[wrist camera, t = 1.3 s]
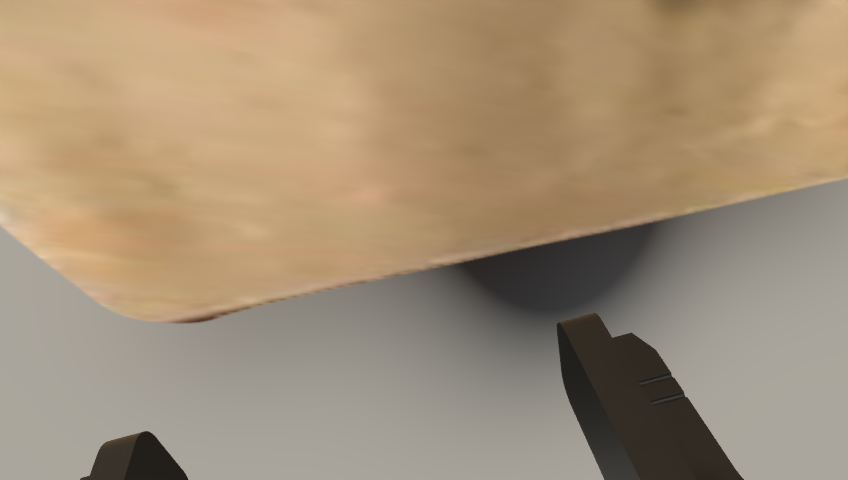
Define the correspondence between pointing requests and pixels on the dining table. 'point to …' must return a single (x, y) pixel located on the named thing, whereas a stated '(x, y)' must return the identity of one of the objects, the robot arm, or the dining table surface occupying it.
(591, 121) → the dining table surface
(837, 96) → the dining table surface
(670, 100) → the dining table surface
